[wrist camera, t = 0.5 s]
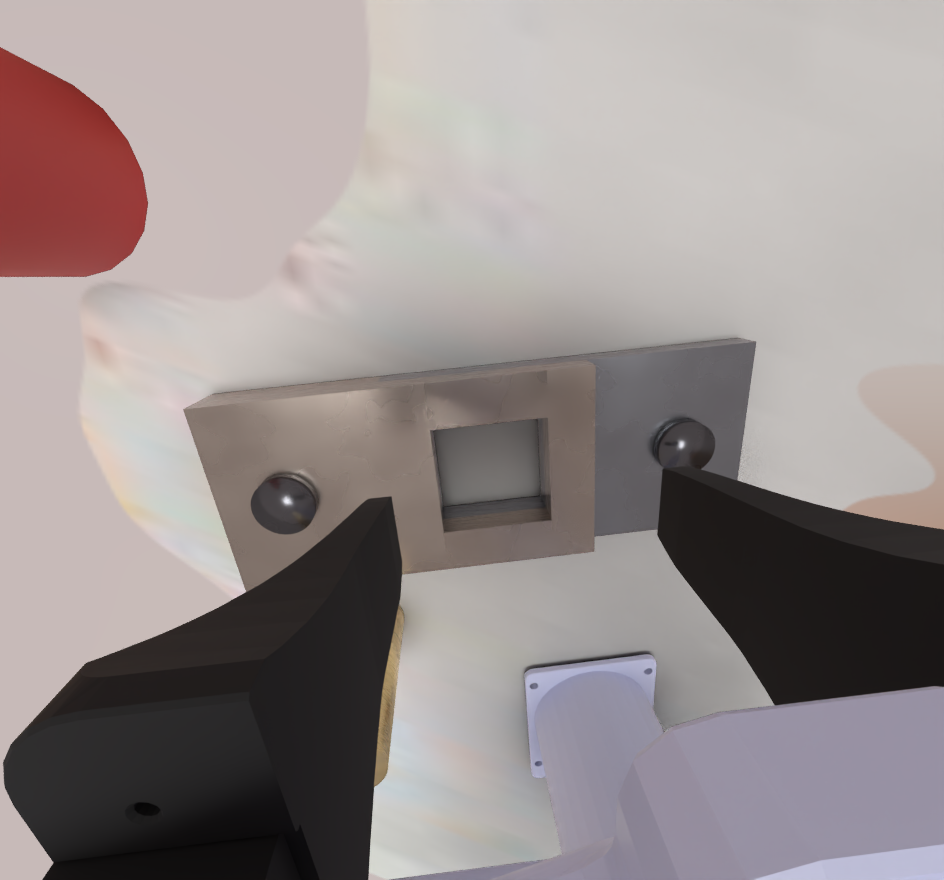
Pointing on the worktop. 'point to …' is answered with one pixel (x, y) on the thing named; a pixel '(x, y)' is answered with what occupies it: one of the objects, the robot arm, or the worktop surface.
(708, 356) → the door strike plate
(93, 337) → the worktop surface
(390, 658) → the brass pin
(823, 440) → the worktop surface
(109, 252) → the beer can
